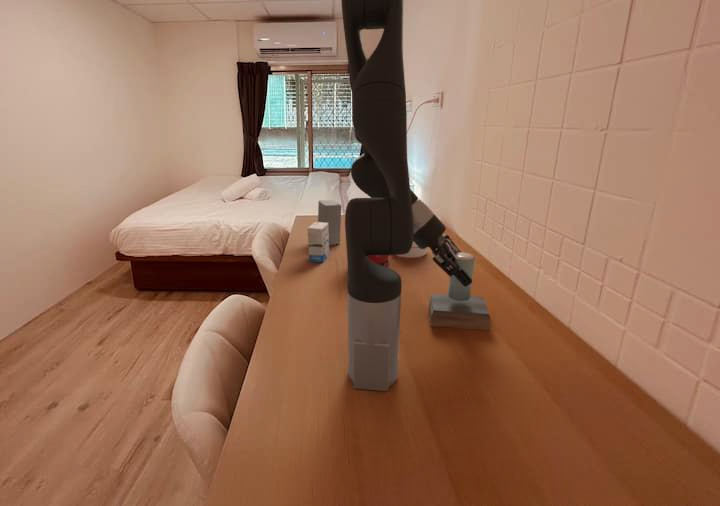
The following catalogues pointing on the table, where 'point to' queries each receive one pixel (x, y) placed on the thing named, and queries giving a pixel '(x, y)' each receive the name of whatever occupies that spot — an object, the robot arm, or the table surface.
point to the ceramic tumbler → (455, 285)
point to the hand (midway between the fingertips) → (469, 278)
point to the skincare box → (331, 219)
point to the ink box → (318, 242)
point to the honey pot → (414, 252)
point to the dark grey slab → (458, 312)
